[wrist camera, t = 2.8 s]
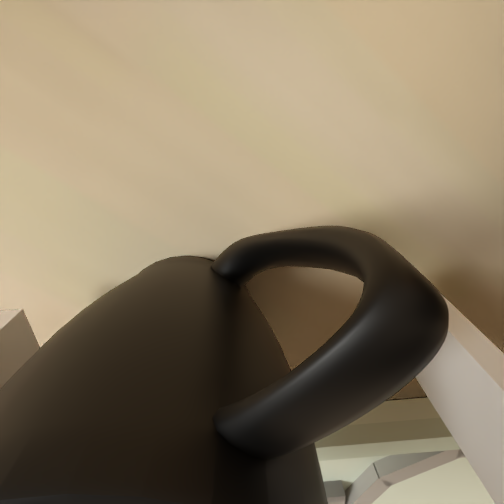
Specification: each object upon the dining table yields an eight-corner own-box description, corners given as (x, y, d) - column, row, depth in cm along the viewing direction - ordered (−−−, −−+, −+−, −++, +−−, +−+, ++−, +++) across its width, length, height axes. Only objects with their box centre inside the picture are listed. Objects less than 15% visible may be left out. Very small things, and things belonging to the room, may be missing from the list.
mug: (387, 236, 13) (672, 501, 4) (210, 403, 17) (179, 723, 8) (226, 91, 11) (171, 64, 2) (59, 324, 14) (-207, 661, 6)
